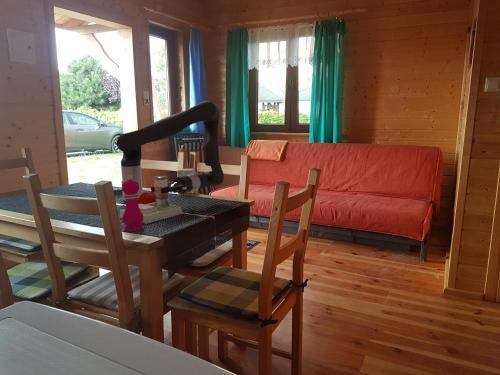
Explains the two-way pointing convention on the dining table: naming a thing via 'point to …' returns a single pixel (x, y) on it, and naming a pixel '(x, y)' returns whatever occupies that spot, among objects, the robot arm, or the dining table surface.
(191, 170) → the supplement box
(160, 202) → the clear lidded jar
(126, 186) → the pepper mill
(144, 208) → the off-white tapered piece
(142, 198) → the tomato
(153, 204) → the tote
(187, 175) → the robot arm
